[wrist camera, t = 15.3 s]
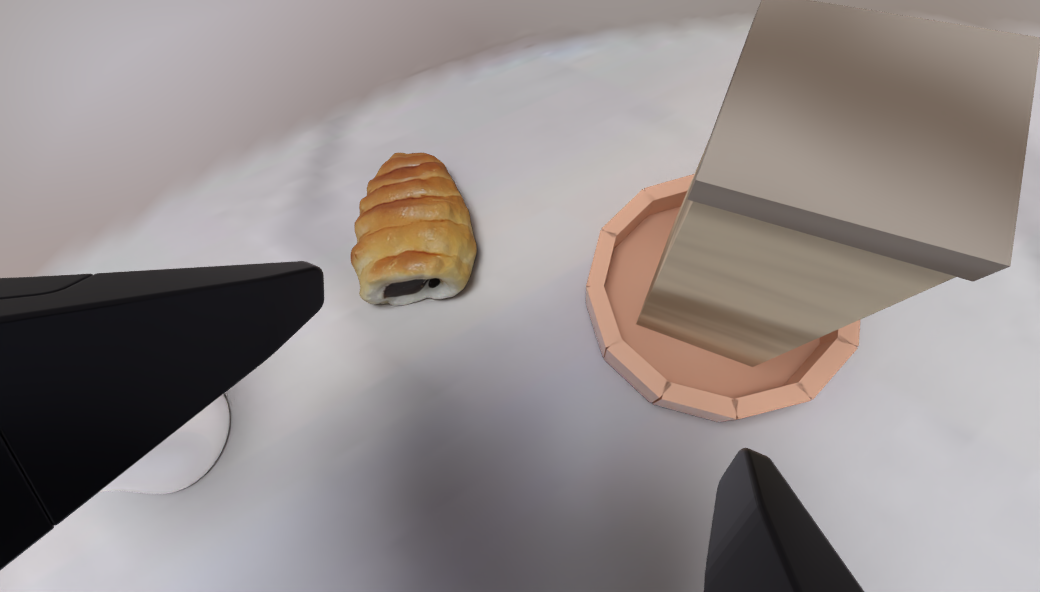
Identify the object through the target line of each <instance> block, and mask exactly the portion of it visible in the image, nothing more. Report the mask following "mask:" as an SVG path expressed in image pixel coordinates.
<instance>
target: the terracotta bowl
mask: <svg viewBox="0 0 1040 592" xmlns="http://www.w3.org/2000/svg"><path fill="white" fill-rule="evenodd" d="M693 177H694V174H693V175H689V176H686V177H682V178H679V179H675V180H672V181H668V182H665V183H661V184H657V185H654V186H650V187H647V188H644V190H643V189H642V190H641V191H640V192H639V193H638V194H637V195H636V196H635V197H634V198H633V199H632V200H631V201H630V202H629V203H628V204H627V205H626V206H625V207H624V208H622V209H621V210H620V211H619V212H618V213H617V214H616V215H615V216H614V217H613V218H612V219H611V220H610V221H609V222H608V223H607V224H606V225H605V226H604V227H603V228H602V230H601V231H600V235H599V239H598V242H597V246H596V250H595V254H594V258H593V262H592V266H591V270H590V273H589V277H588V281H587V285H586V306H587V309H588V312H589V315H590V318H591V321H592V325H593V328H594V331H595V334H596V337H597V340H598V344H599V347H600V350H601V353H602V356H603V358H604V357H605V358H604V360H605V361H606V362H607V363H608V364H609V365H610V366H612V367H613V368H614V369H615V370H616V371H617V372H618V373H619V374H620V375H621V376H622V377H623V378H624V379H625V380H626V381H628V382H629V383H630V384H631V385H632V386H633V387H634V388H635V389H636V390H637V391H638V392H639V393H640V394H641V395H642V396H644V397H645V398H646V399H647V400H648V401H649V402H650V403H651V402H653V404H654V405H657V406H661V407H665V408H668V409H672V410H676V411H679V412H683V413H687V414H690V415H694V416H698V417H701V418H705V419H709V420H712V421H716V422H724V421H730V420H736V419H741V418H745V417H749V416H753V415H757V414H761V413H765V412H769V411H772V410H776V409H780V408H784V407H788V406H792V405H796V404H800V403H804V402H808V401H811V400H812V399H814V398H815V397H816V395H817V394H818V393H819V392H820V391H821V390H822V389H823V387H824V386H825V385H826V384H827V383H828V382H829V380H830V379H831V378H832V377H833V376H834V375H835V374H836V372H837V371H838V370H839V369H840V368H841V367H842V366H843V364H844V363H845V362H846V361H847V360H848V359H849V358H850V356H851V355H852V354H853V353H854V352H855V351H856V349H857V346H859V332H860V320H858V321H856V322H853V323H851V324H849V325H847V326H844V327H842V328H840V329H838V330H835V331H833V332H831V333H829V334H826V335H824V336H822V337H820V338H817V339H815V340H813V341H810V342H808V343H806V344H804V345H801V346H799V347H797V348H795V349H792V350H790V351H788V352H786V353H783V354H781V355H779V356H777V357H774V358H772V359H770V360H768V361H765V362H763V363H761V364H759V365H756V366H754V367H751V366H748V365H745V364H743V363H740V362H737V361H734V360H732V359H729V358H726V357H724V356H721V355H718V354H715V353H713V352H710V351H707V350H705V349H702V348H699V347H696V346H694V345H691V344H688V343H686V342H683V341H680V340H678V339H675V338H672V337H669V336H667V335H664V334H661V333H659V332H656V331H653V330H650V329H648V328H645V327H642V326H640V325H637V324H636V323H637V320H638V317H639V315H640V312H641V309H642V306H643V304H644V301H645V298H646V296H647V293H648V290H649V288H650V285H651V282H652V280H653V277H654V274H655V271H656V269H657V266H658V263H659V261H660V258H661V255H662V253H663V250H664V247H665V245H666V242H667V239H668V236H669V234H670V231H671V229H672V226H673V224H674V221H675V219H676V217H677V214H678V212H679V210H680V207H681V205H682V203H683V200H684V198H685V196H686V193H687V191H688V188H689V186H690V184H691V181H692V179H693Z"/></svg>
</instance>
